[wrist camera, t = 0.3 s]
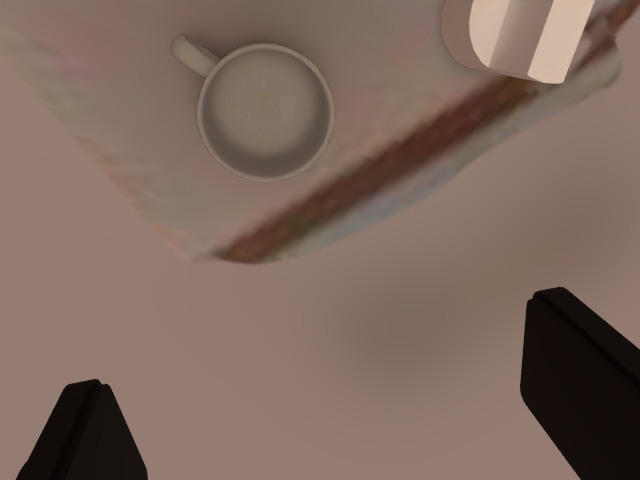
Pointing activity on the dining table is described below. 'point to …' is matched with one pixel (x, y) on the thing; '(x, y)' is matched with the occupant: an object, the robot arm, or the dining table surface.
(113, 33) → the dining table surface
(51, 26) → the dining table surface
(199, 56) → the teacup
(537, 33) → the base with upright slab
